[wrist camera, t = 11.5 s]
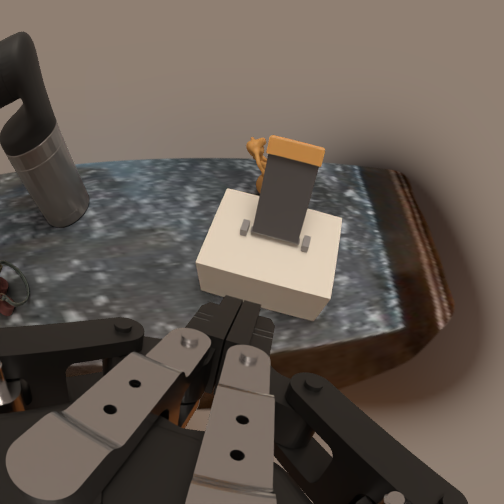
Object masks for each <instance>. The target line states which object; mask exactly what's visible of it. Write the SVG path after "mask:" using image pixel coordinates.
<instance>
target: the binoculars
mask: <svg viewBox="0 0 504 504" xmlns="http://www.w3.org/2000/svg"><path fill="white" fill-rule="evenodd" d="M1 264H5V265H7V266H9V267H11V268H13V269H14V270H15V271H17V273H18V274H19V275H20V276H21V278H22V279H23V281H24V283H25V286H26V290H27V298H26V299H25V300H24V301H22V302H20V303H15V302H14V301H13V300H12V299H11V298H10V297H8V296H6V292H7V289H8V283H7V281H6V280H5V279H4V278H2V277H0V296H2V297H1V298H0V313H2V314H3V315H5V316H10V315H11V314H12V312H13V309H14V306H15V307H18V306H21V305H23V304H24V303H25V302H26V301H27V299H28V297H29V287H28V283H27V281H26V279H25V277H24V275H23V274H22V272H21V271H20V270H19V269H18V268H17V267H16V266H14V265H13V264H11V263H9V262H7V261H4V260H1V261H0V272H1V270H2V267H3V266H2V265H1Z"/></svg>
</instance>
